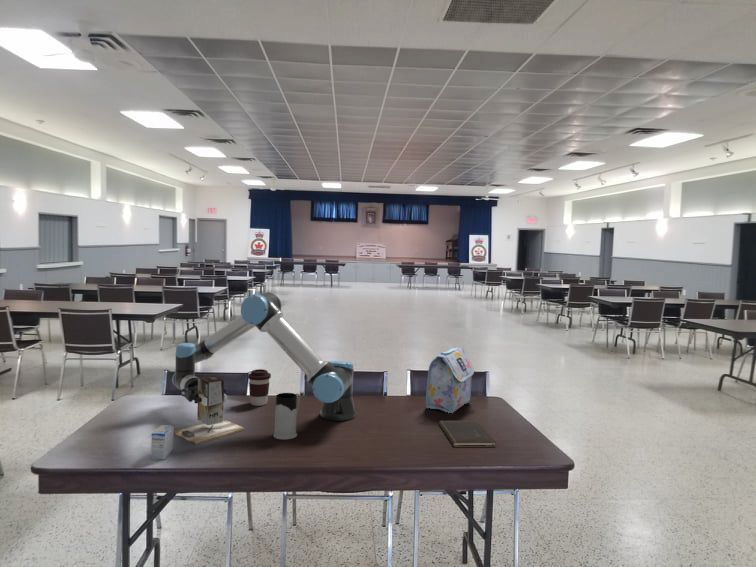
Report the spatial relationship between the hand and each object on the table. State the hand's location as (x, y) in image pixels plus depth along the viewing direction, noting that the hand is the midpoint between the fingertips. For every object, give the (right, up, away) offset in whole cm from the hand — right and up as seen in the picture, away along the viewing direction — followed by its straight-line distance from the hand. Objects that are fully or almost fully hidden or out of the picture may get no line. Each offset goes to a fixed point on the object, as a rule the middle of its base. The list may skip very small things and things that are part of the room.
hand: (216, 400), depth 174 cm
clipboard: (-4, -13, +4) cm, 14 cm away
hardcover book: (+94, -17, +11) cm, 96 cm away
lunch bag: (+93, -15, +47) cm, 105 cm away
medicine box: (-11, -14, -18) cm, 25 cm away
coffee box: (-4, -9, +4) cm, 11 cm away
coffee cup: (+6, -11, +40) cm, 42 cm away
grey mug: (+26, -14, +6) cm, 30 cm away
